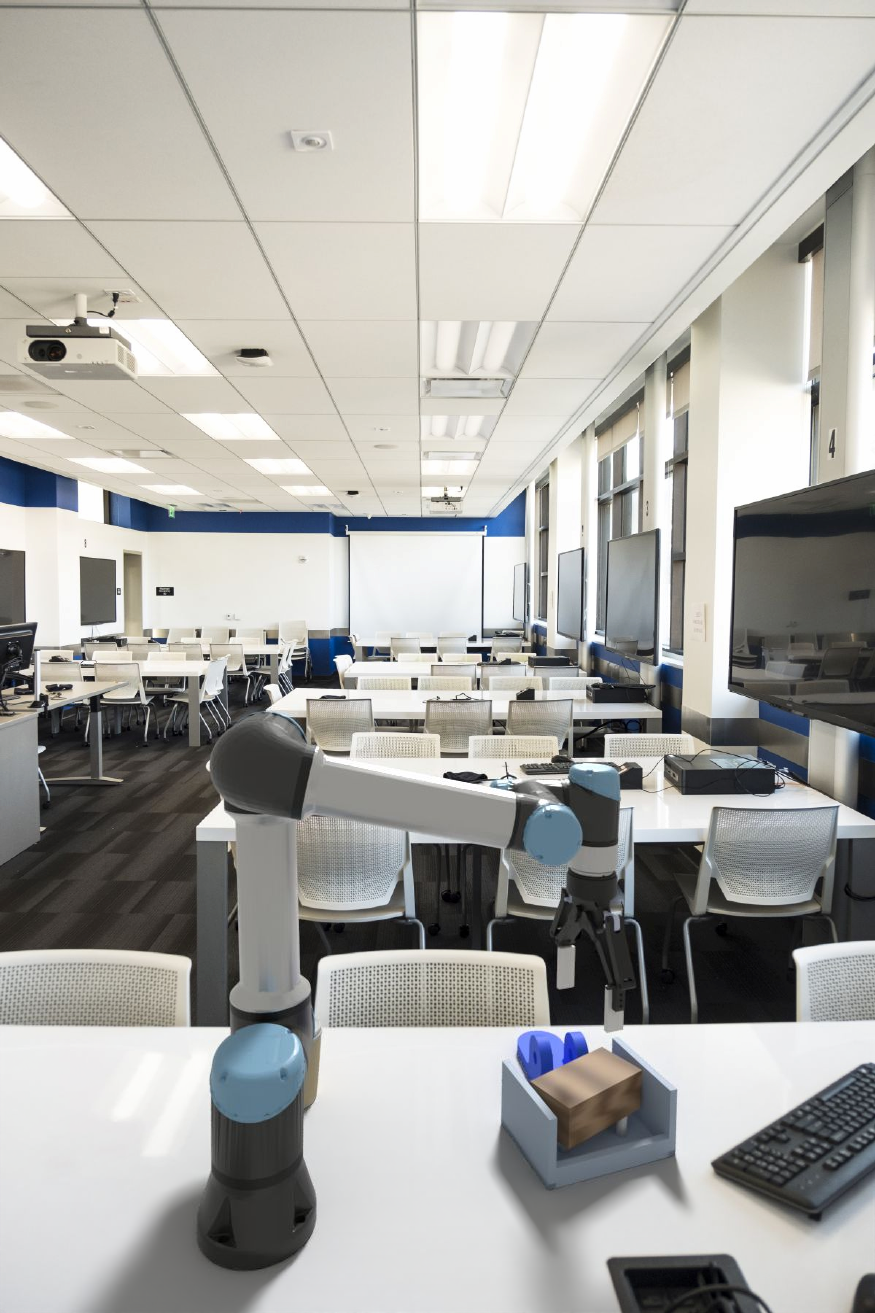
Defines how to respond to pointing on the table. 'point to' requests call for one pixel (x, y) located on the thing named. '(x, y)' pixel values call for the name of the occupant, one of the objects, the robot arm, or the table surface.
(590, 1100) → the brown wooden block
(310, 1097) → the coffee cup
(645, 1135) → the frame
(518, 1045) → the bracket
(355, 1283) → the table surface
